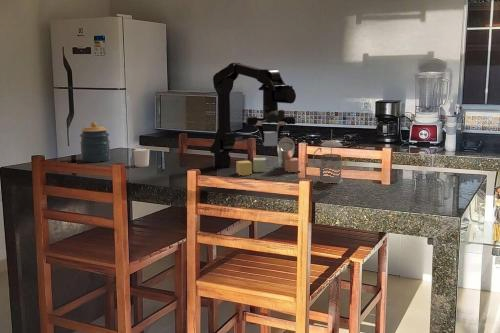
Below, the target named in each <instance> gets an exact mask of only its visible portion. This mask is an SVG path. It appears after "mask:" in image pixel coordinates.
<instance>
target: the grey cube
mask: <svg viewBox="0 0 500 333" xmlns="http://www.w3.org/2000/svg"><path fill="white" fill-rule="evenodd" d="M263 133H264V143H263V142H262V145H263V146H264V147H278V142H279V140H278V133H277V130H276V131H263Z"/></svg>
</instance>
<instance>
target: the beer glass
mask: <svg viewBox="0 0 500 333" xmlns="http://www.w3.org/2000/svg"><path fill="white" fill-rule="evenodd" d="M276 147H277V155H278V159H277V164H278V165H279V166H280V167H282V168H285V159H290V158H292V157H293V156H294V154H295V142H294V140H293V139H292V138H290V137H287V136H286V137H282V138H279V140H278V146H276Z"/></svg>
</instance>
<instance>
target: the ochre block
mask: <svg viewBox="0 0 500 333" xmlns="http://www.w3.org/2000/svg"><path fill="white" fill-rule="evenodd" d="M235 165H236V166H235V167H236V169H235V170H236V174H237V173H238V174H239V175H238V174H237V175H238V176H240V175H242V176H251V175H250V174H252V175H253V162H251V161H250V160H237V161H236V164H235Z"/></svg>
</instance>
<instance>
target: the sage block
mask: <svg viewBox="0 0 500 333" xmlns="http://www.w3.org/2000/svg"><path fill="white" fill-rule="evenodd" d="M266 160H267V158H266V157H253V162H252V173H266V172H267V171H266V170H267V168H266V165H267V163H266Z"/></svg>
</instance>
